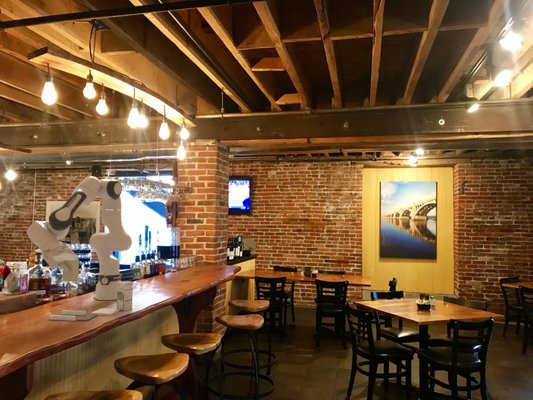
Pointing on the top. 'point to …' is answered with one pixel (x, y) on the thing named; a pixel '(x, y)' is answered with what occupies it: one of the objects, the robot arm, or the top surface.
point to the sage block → (71, 270)
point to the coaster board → (105, 311)
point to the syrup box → (124, 295)
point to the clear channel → (73, 318)
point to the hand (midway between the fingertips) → (72, 270)
